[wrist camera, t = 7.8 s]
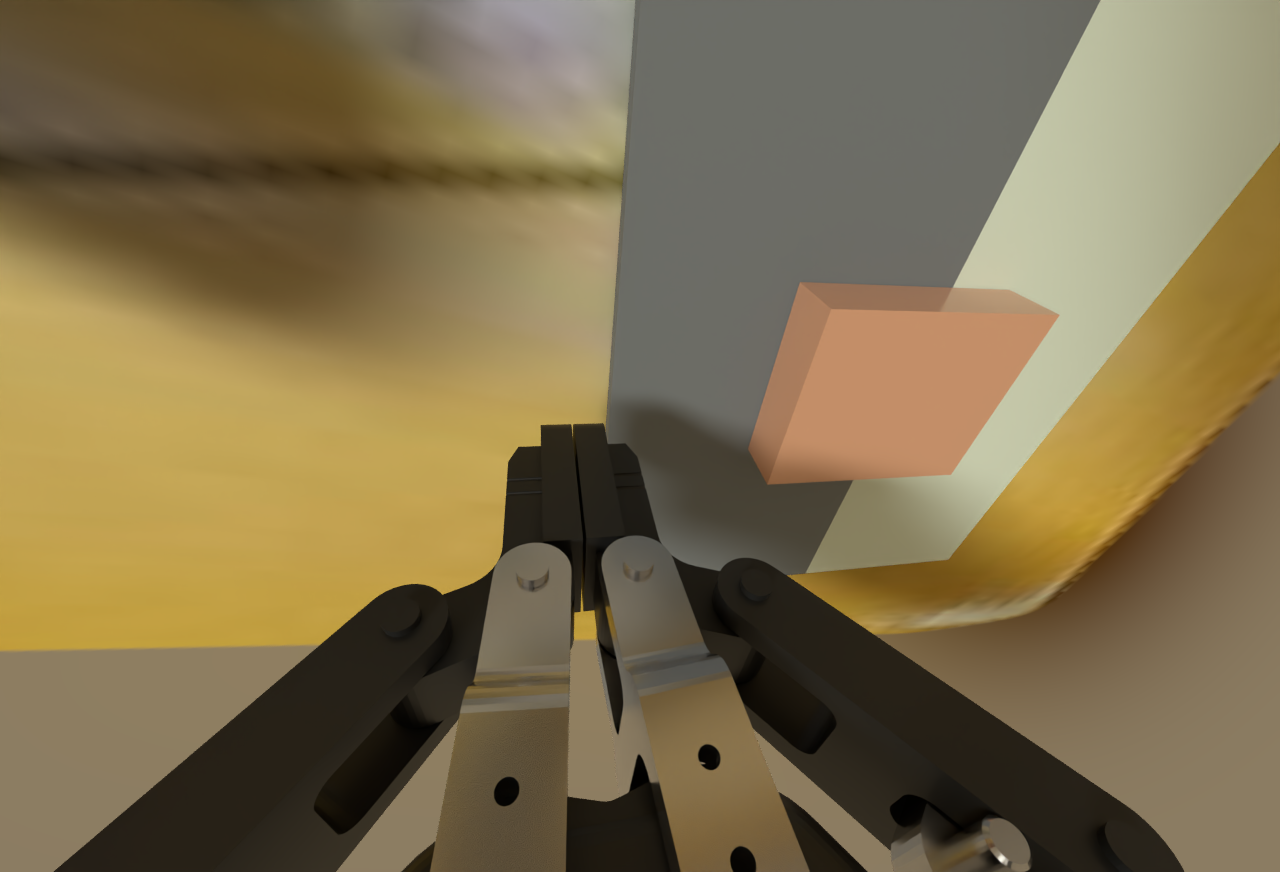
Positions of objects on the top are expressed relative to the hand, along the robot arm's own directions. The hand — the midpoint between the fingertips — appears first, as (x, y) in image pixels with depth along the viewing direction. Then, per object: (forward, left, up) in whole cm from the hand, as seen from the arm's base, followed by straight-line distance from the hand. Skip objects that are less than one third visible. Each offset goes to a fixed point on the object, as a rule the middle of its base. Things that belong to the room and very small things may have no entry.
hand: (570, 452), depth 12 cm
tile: (0, +10, -2) cm, 10 cm away
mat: (0, +10, -4) cm, 11 cm away
